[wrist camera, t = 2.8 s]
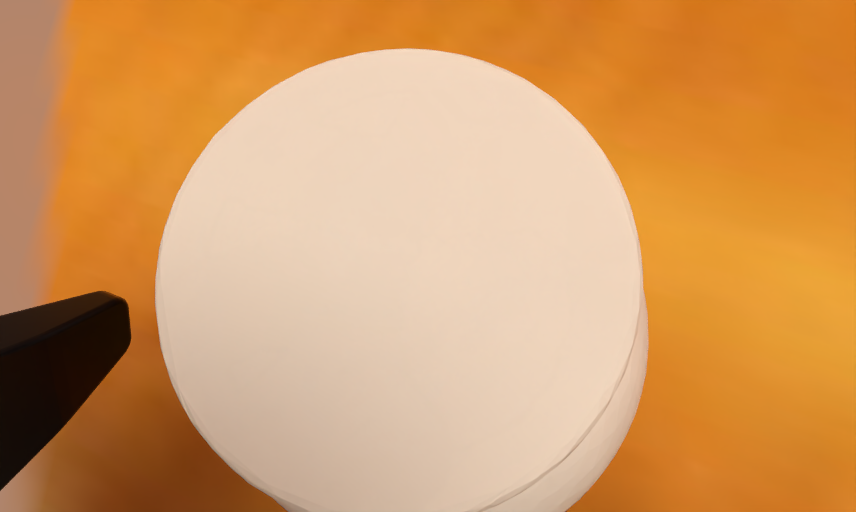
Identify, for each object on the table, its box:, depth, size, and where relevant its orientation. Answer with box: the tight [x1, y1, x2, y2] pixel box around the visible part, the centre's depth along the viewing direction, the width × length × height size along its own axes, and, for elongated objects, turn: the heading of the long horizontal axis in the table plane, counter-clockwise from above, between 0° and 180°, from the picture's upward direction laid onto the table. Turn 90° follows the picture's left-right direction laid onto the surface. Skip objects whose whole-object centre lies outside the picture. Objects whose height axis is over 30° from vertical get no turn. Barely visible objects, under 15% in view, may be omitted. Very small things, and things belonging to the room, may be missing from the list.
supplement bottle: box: [155, 49, 648, 512], centre depth 12 cm, size 7×7×13 cm
